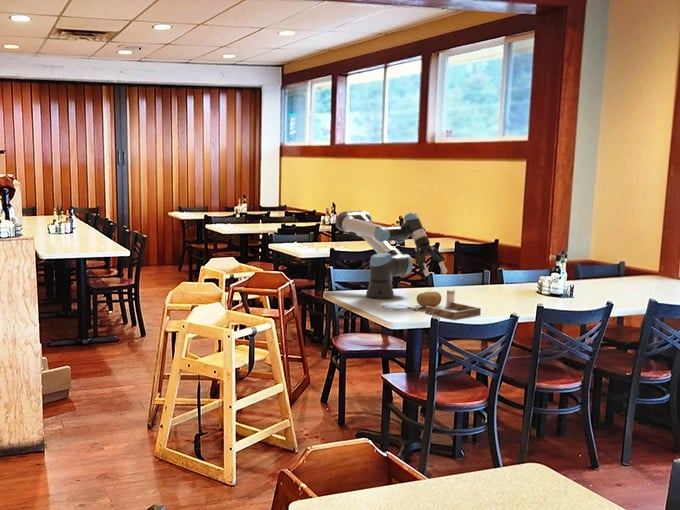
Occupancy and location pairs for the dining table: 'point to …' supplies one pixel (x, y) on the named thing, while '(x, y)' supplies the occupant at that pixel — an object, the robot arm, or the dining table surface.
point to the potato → (429, 299)
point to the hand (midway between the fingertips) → (436, 274)
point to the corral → (459, 314)
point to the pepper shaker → (450, 297)
